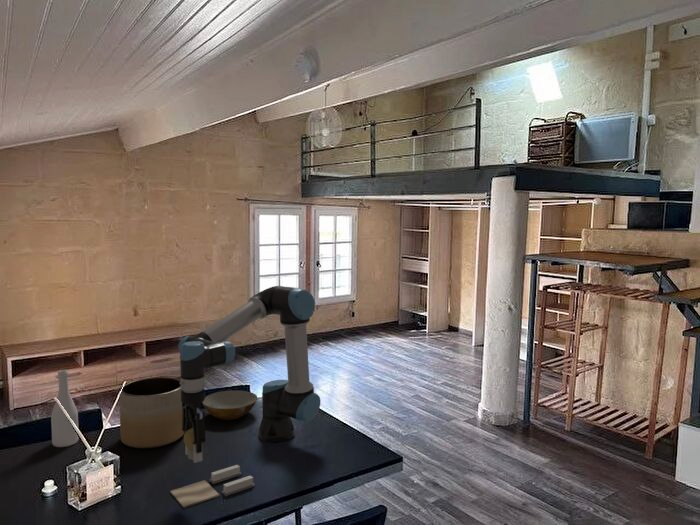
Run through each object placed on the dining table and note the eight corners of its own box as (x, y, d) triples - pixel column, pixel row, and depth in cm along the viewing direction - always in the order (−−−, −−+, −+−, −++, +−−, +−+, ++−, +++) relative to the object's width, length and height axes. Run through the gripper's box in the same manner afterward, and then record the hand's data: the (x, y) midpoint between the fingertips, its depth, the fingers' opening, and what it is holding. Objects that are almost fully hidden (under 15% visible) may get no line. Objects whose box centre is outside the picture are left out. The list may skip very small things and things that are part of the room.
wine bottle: (46, 445, 211) (43, 372, 208) (67, 436, 219) (64, 366, 217) (63, 449, 207) (60, 375, 204) (84, 440, 216) (81, 368, 213)
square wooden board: (170, 492, 176) (170, 490, 176) (204, 481, 183) (204, 479, 183) (183, 508, 166) (183, 506, 166) (219, 496, 174) (219, 494, 174)
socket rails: (209, 480, 184) (209, 472, 183) (237, 471, 190) (237, 463, 190) (225, 496, 174) (225, 487, 173) (254, 486, 180) (254, 477, 180)
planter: (198, 432, 225) (197, 382, 223) (151, 456, 202) (149, 400, 200) (155, 421, 236) (154, 373, 234) (106, 442, 214) (105, 389, 212)
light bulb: (182, 456, 175) (181, 427, 174) (201, 452, 178) (201, 423, 177) (185, 464, 169) (185, 434, 168) (205, 460, 172) (205, 430, 171)
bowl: (268, 415, 244) (268, 399, 244) (221, 431, 226) (221, 413, 225) (237, 402, 262) (237, 386, 261) (191, 415, 243) (191, 398, 243)
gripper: (171, 384, 177) (172, 450, 179) (193, 399, 162) (194, 472, 164) (192, 380, 181) (193, 444, 183) (216, 395, 166) (216, 465, 168)
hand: (193, 457), depth 173 cm, fingers closed on light bulb, 6 cm apart
